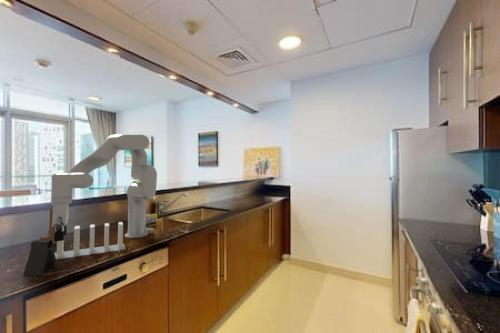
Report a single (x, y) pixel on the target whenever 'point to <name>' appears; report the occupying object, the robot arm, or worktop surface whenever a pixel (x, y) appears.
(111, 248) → the mat
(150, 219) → the candy box
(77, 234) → the domino
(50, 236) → the wooden block
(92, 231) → the domino
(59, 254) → the domino
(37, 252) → the phone stand
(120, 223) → the domino
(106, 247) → the domino
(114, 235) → the worktop surface
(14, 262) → the worktop surface
